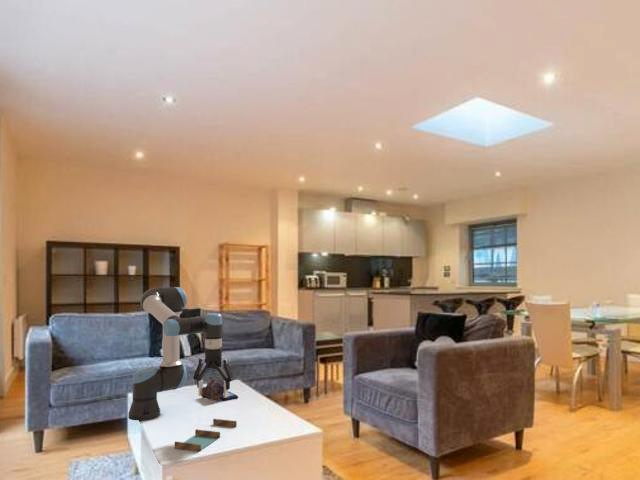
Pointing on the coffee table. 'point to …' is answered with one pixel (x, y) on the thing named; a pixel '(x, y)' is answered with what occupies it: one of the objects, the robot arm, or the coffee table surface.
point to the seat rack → (205, 435)
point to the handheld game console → (229, 396)
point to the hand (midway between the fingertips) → (213, 395)
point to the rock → (213, 389)
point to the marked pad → (201, 441)
